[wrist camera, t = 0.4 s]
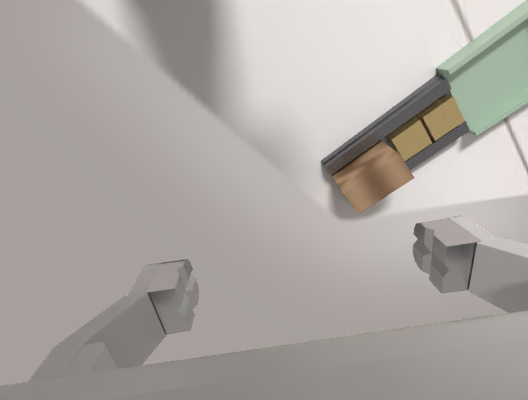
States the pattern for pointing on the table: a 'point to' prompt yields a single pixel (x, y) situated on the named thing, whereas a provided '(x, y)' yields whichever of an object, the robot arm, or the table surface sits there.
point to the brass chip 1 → (409, 138)
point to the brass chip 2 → (441, 117)
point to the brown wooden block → (372, 176)
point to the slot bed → (393, 121)
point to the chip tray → (491, 72)
